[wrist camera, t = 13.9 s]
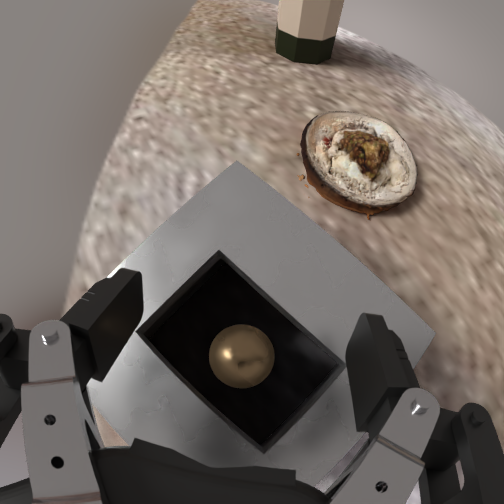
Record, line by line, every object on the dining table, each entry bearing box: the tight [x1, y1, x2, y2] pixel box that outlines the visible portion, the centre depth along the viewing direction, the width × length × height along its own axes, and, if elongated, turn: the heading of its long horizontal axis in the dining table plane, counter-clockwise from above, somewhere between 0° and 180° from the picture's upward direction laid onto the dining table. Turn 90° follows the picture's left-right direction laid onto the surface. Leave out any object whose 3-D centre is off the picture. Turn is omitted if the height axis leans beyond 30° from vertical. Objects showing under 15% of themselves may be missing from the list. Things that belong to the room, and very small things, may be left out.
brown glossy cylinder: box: [209, 325, 275, 388], centre depth 18 cm, size 3×3×9 cm
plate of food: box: [297, 111, 418, 221], centre depth 27 cm, size 15×15×4 cm
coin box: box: [87, 161, 436, 487], centre depth 17 cm, size 14×14×10 cm
